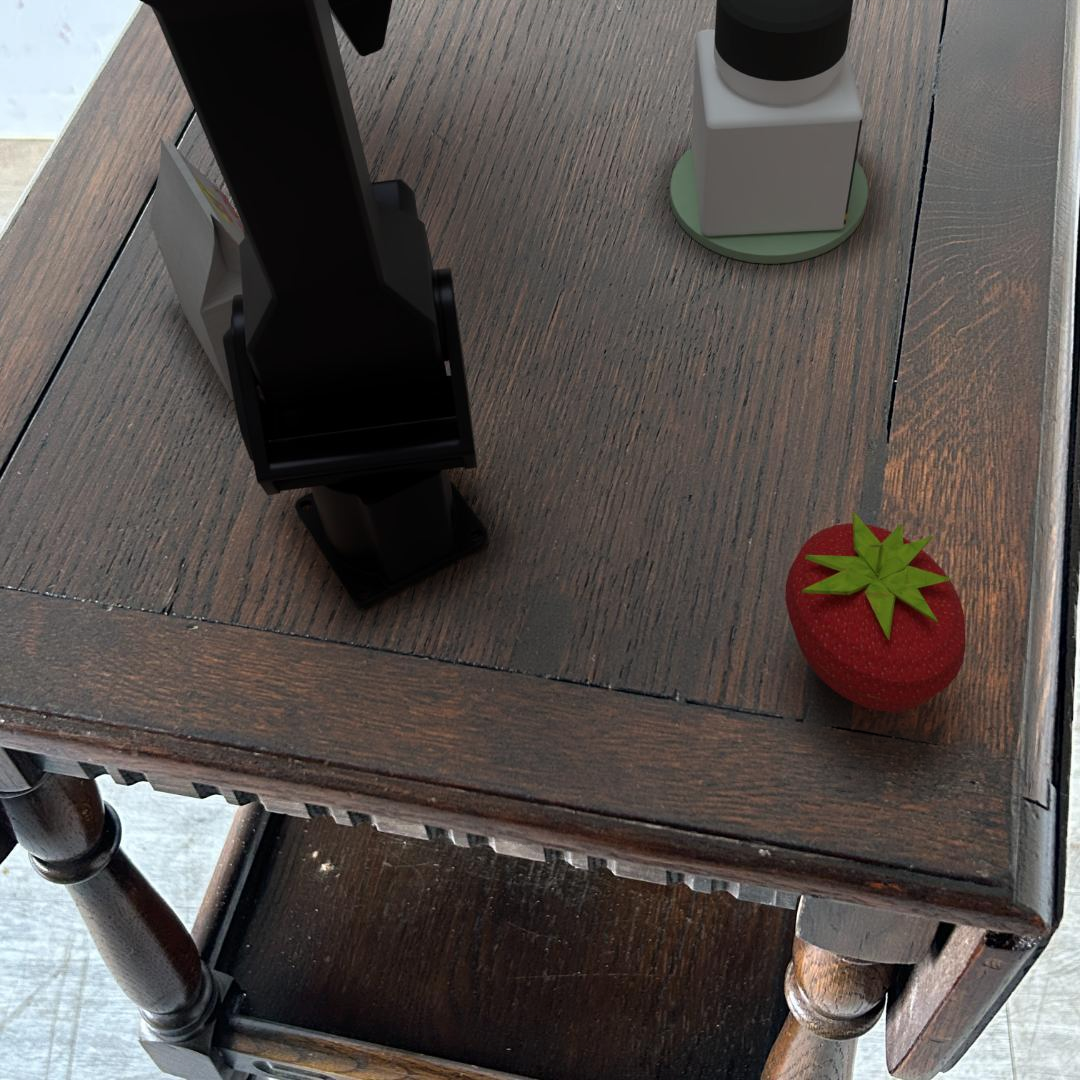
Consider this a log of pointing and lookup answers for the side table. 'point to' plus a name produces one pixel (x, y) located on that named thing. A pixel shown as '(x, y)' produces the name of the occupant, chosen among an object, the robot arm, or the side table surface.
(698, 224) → the coaster
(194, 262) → the tea bag
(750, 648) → the side table surface
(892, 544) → the strawberry
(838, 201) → the medicine bottle
